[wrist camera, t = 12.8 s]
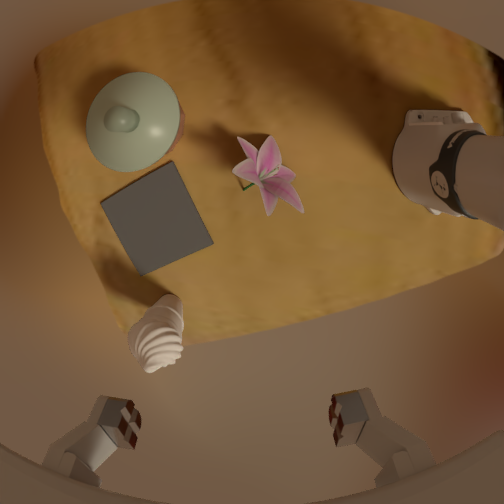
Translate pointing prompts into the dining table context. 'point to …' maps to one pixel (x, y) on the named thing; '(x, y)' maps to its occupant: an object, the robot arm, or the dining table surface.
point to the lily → (268, 174)
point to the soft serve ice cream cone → (158, 334)
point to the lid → (133, 122)
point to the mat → (157, 220)
